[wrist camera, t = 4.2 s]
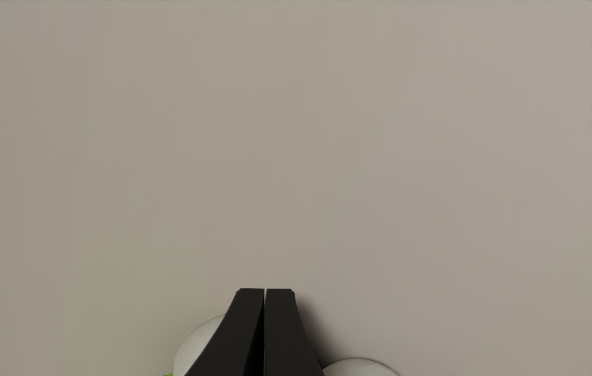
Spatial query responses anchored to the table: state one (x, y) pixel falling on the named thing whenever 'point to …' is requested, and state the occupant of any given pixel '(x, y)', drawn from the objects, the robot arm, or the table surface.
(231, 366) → the robot arm
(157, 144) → the table surface
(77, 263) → the table surface
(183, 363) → the multicoloured spiky piece
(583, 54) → the table surface
